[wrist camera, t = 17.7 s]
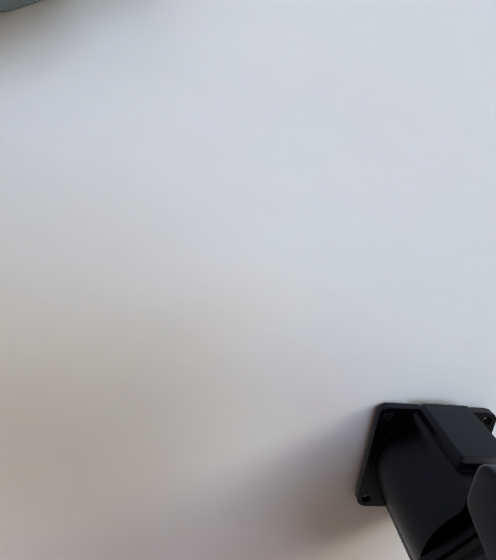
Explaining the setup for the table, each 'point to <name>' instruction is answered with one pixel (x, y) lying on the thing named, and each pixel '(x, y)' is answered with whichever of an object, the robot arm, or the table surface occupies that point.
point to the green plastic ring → (14, 4)
